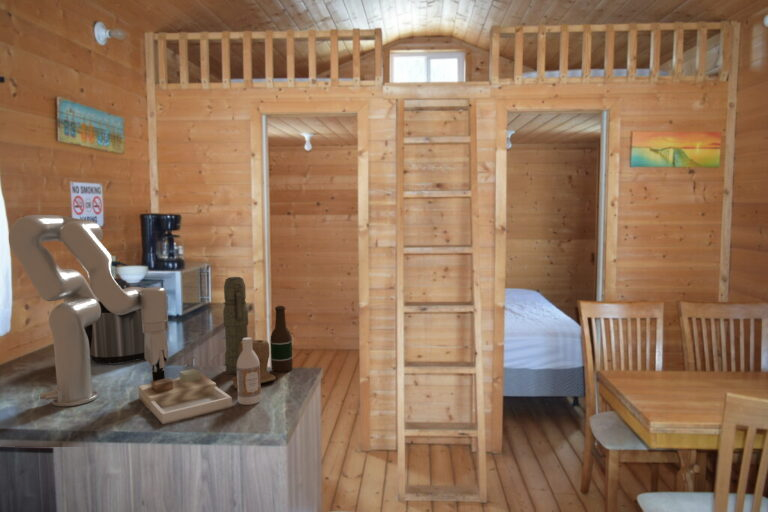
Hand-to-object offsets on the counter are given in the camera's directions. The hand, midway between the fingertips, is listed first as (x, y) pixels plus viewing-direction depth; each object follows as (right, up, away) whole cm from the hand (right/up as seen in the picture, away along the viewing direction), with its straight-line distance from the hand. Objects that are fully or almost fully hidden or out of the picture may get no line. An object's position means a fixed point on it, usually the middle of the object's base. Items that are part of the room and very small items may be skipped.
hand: (158, 382), depth 164 cm
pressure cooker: (-36, -2, +49) cm, 61 cm away
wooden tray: (+6, -5, +1) cm, 7 cm away
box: (+14, -6, -10) cm, 18 cm away
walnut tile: (+3, -1, -3) cm, 4 cm away
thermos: (+17, -3, +28) cm, 33 cm away
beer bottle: (+34, -2, +28) cm, 44 cm away
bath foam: (+30, -5, -4) cm, 31 cm away
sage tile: (+8, 0, +6) cm, 10 cm away
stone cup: (+26, -4, +14) cm, 30 cm away
